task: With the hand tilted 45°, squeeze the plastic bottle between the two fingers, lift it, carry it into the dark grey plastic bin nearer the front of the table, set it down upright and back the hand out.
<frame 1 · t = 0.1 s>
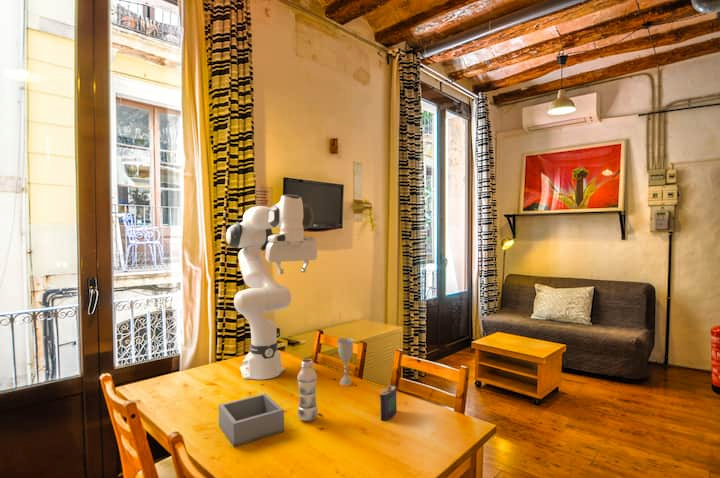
hand: (292, 273, 153), 48 cm above the table, tool pointing down, fingers open, 8 cm apart
bin: (251, 428, 130), on the table
chalice: (345, 383, 168), on the table
plastic bottle: (307, 420, 136), on the table
hip flask: (389, 416, 138), on the table
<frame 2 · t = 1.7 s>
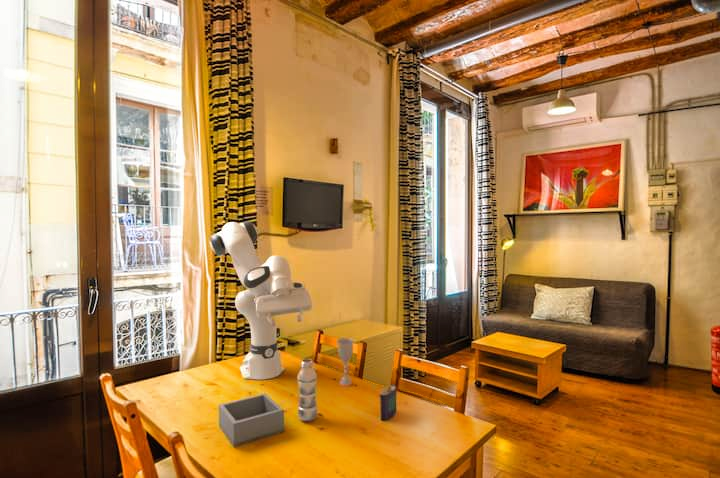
hand: (286, 323, 143), 31 cm above the table, tool tilted 45°, fingers open, 8 cm apart
nothing on the table moved.
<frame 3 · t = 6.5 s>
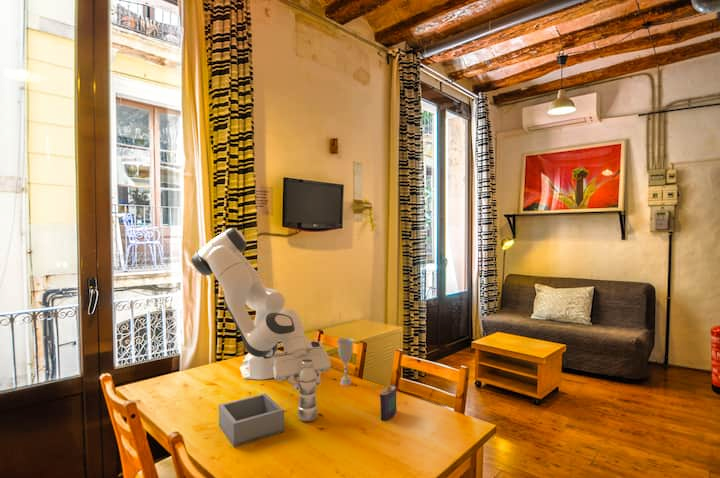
hand: (308, 386, 135), 11 cm above the table, tool tilted 45°, fingers closed on plastic bottle, 6 cm apart
plastic bottle: (307, 420, 136), on the table, touching gripper
everything else where it was.
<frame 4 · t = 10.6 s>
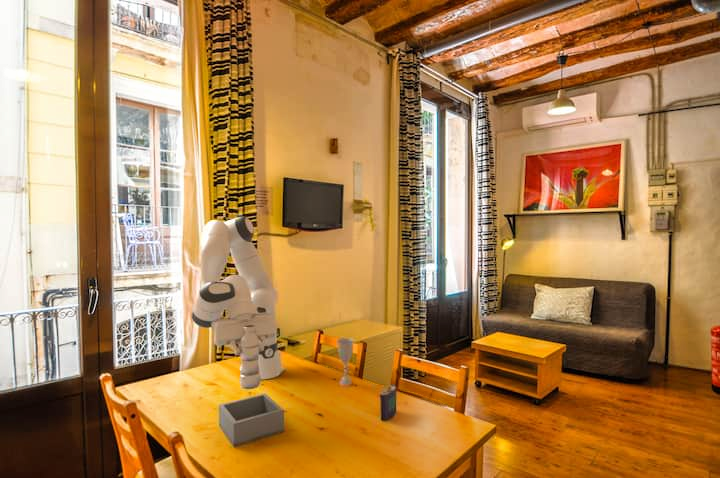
hand: (250, 352, 129), 25 cm above the table, tool tilted 45°, fingers closed on plastic bottle, 6 cm apart
plastic bottle: (250, 388, 130), point 13 cm above the table, touching gripper
everything else where it was.
when the fingers open (14 cm above the table, at t = 13.8 s): plastic bottle moves 2 cm, resting on bin.
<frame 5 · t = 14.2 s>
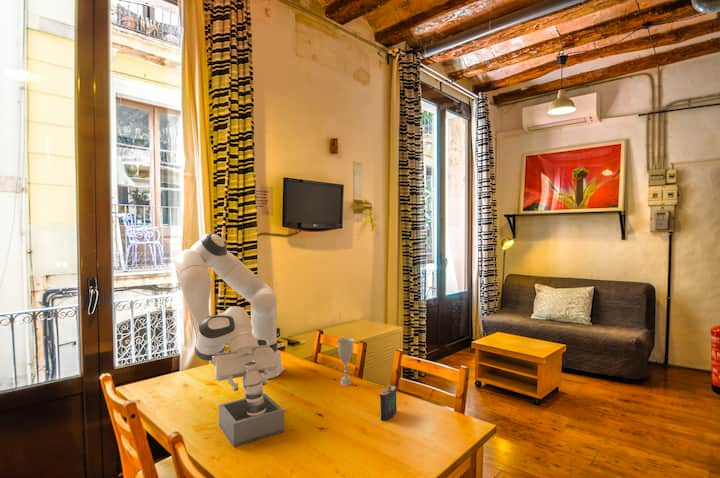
hand: (250, 386, 129), 14 cm above the table, tool tilted 45°, fingers open, 8 cm apart
plastic bottle: (258, 423, 131), point 1 cm above the table, touching bin, gripper
everything else where it was.
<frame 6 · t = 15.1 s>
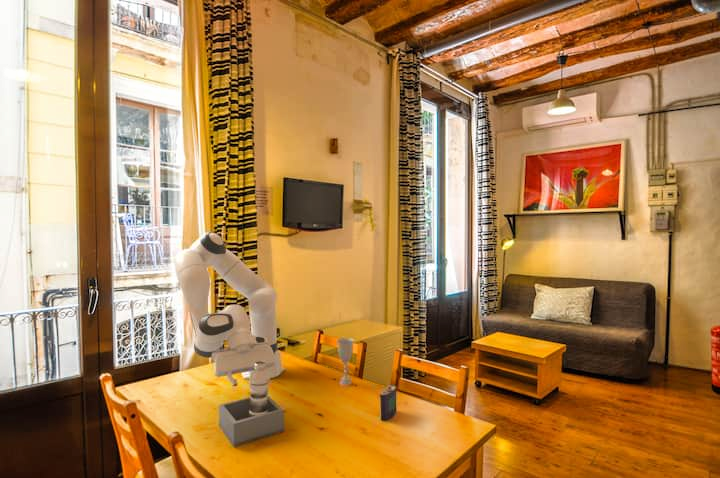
hand: (249, 382, 133), 14 cm above the table, tool tilted 45°, fingers open, 8 cm apart
plastic bottle: (258, 424, 131), point 1 cm above the table, touching bin
everything else where it was.
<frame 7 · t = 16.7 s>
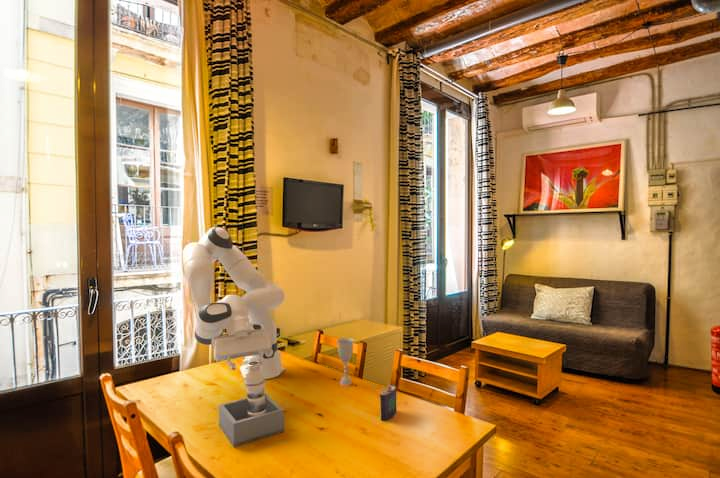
hand: (247, 366, 141), 16 cm above the table, tool tilted 45°, fingers open, 8 cm apart
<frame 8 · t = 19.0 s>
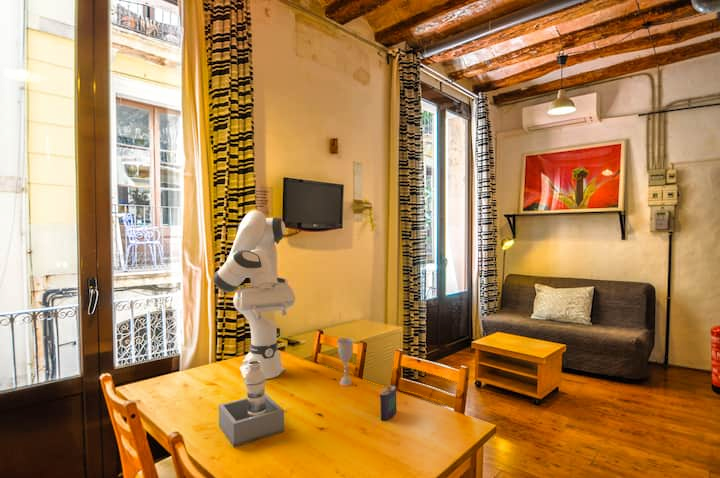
hand: (272, 316, 145), 33 cm above the table, tool tilted 45°, fingers open, 8 cm apart
at the end: plastic bottle inside the target area on the bin (2.3 cm from its centre), point 0.9 cm above the bin's base; plastic bottle tilted 3°; the gripper is holding nothing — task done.
